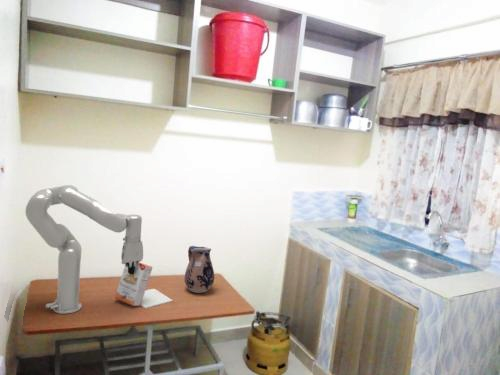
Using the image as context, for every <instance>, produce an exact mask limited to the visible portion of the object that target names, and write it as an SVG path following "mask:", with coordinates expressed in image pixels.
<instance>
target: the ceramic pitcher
mask: <svg viewBox="0 0 500 375" xmlns="http://www.w3.org/2000/svg"><path fill="white" fill-rule="evenodd" d="M211 251H212V248H210V247H206V246H195V245H190V246H189V247H188V250H187V253H188V254H187V255H188V264H187V267H186V269H185V273H184V278H183V279H184V283H185V285H186V288H188V290H189V291H191V293H196V294H203V293H207V292H208V291H209V290H210V289H211V288H212V286H213V285H214V282H215V271H214V268H213V267H214V266H213V262H212V260H211Z"/></svg>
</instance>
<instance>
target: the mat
mask: <svg viewBox="0 0 500 375" xmlns="http://www.w3.org/2000/svg"><path fill="white" fill-rule="evenodd" d="M172 302H173V299H171V298H170V297H168V296H167V295H165V294H163V293H162V292H160V291H159V290H157V289H155V288H151V289H150V288H149V289H146V290H145V293H144V296H143V299H142V302H141V305H140V306H141V307H142V308H143V309H146V310H147V309H149V308H154V307H156V306H159V305H160V306H161V305H164V304H168V303H172Z"/></svg>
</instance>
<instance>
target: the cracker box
mask: <svg viewBox="0 0 500 375" xmlns="http://www.w3.org/2000/svg"><path fill="white" fill-rule="evenodd" d="M131 263H132V262H131ZM152 270H153V266H151V265H148V264H145V263H143V262H141V261H140V262H138V263H137V264H136V266H135V272H134V274H132V275H131V274H129V273H128V266H127V265H126V264H124V268H123V270H122V274H121V276H120V280H119V283H118V287H117V289H116V292H115V295H114V299H115V300H116V299H117V300H119V301H120V302H123V303H125V304H127V305H130V306H133V307H140V306H141V302H142V299H143V296H144V293H145V290H147V286H148V282H149V280H150V278H151V273H152Z"/></svg>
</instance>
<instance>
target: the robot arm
mask: <svg viewBox="0 0 500 375" xmlns="http://www.w3.org/2000/svg"><path fill="white" fill-rule="evenodd" d="M60 204H63V205H65V206H67V207H69V208H70V209H73V210H74V211H77V212H78V213H81V214H82V215H84V216H86V217H88V218H89V219H90V220H92V221H94V222H95V223H97V224H99V226H102V227H103V228H105V229H107V230H110V231H111V232H114V233H122V232H124V231H125V235H124V237H123V238H122V241H124V242H123V245H122V249H121V264H122V265H125V264H126V265H127V266H128V273H129V274H131V275H132V274H134V272H135V266H136V264H137V263H138V262H140V263H141V262H142V261H143V259H144V246H143V241H142V239H141V238H142V221H143V219H142V218H143V217H142V216H141V215H139V214H123V213H113V212H111V211H109V210H108V209H106V208H105V207H104V206H103V205H102V204H101V203H100V202H99V201H98V200H96V199H94V198H92V197H91V196H88V195H86V194H85V193H83V192H81V191H79V189H78V188H77V187H76V186H74V185H72V184H65V185H62V186H61V185H60V186H55V187H49V188H43V189H39V190H38V191H36V192H35V193H34V194H33V195H32V196H31V197H30V198H29V200H28V202H27V204H26V206H25V216H26V219H27V221H28V222H29V223H30V225H31V226H32V227H33V229H35V231H36V232H37V233H38V234H39V236H40V237H41V238H42V239H43V241H44V242H45V243H46V244H47V245H48V246H49V247H51V248H55V249H57V250H58V251H59V253H58V256H57V257H58V259H57V260H58V261H57V267H58V268H57V269H58V270H57V271H58V272H57V295H56V299H54V301H53V302H51V303H50V302H49V303H46V304H45V309H50V310H53V312H54V313H57V314H60V315H61V314H62V315H64V314H73V313H76V312H78V311H79V310H81V309H82V305H83V304H82V302H80V301H79V298H80V296H79V295H80V279H81V278H80V277H81V261H82V245H81V244H80V242H79V240H78V239H77V238H76V237H75V236H74V235H73V233H72V232H71V231H70V230H69V228H68V227H67V226H65V224H62V223H57V222H56V220H54V218H53V217H52V216H51V215H50V214H49V213H48V210H49V208H50V206H55V205H60ZM131 262H132V263H131Z"/></svg>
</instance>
